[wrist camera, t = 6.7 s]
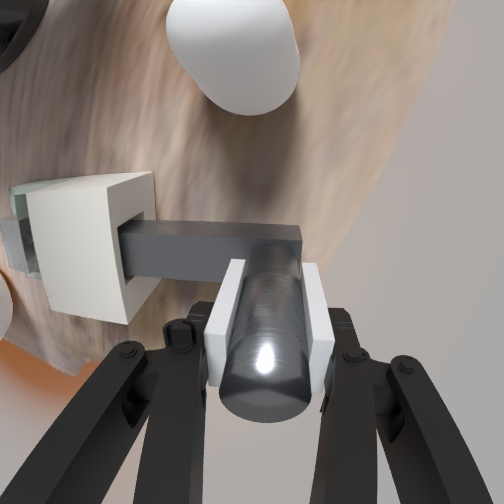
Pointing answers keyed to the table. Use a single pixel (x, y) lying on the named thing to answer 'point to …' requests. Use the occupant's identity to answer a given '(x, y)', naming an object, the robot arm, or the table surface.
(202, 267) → the grey l-shaped bracket
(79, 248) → the housing
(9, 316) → the white faceted bowl
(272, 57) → the figurine
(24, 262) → the block
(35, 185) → the tray
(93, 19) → the table surface
